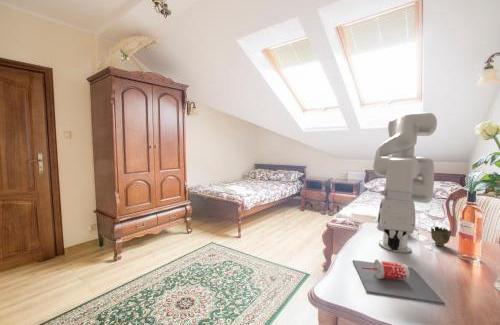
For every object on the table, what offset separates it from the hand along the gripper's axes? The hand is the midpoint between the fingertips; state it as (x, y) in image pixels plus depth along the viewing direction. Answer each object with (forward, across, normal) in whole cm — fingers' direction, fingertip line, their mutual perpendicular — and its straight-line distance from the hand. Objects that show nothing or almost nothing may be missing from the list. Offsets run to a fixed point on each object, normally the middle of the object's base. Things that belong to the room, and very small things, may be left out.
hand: (393, 248), depth 79 cm
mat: (+11, 0, 0) cm, 11 cm away
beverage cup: (+8, +5, 0) cm, 9 cm away
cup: (+11, +34, +38) cm, 52 cm away
